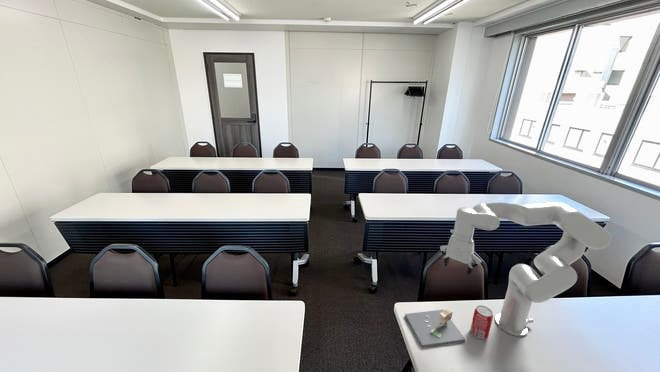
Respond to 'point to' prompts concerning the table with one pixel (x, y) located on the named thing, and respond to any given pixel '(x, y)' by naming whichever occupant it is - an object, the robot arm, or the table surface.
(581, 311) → the table surface
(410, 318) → the grey flat slab
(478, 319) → the soda can
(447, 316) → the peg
